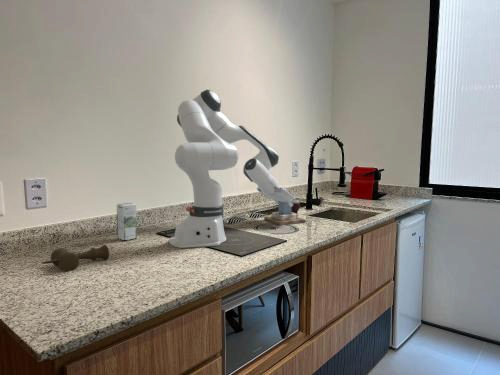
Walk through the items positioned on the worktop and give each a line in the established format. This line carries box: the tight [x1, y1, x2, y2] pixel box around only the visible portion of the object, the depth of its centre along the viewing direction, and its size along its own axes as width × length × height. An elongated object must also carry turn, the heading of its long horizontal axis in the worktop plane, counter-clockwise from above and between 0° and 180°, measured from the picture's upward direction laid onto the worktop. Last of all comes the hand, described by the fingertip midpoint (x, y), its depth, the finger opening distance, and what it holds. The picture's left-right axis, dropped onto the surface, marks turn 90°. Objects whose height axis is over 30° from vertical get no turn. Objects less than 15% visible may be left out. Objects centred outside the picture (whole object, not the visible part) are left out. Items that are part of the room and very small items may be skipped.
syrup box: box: [116, 202, 138, 241], centre depth 152 cm, size 6×6×14 cm
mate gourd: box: [282, 186, 301, 214], centre depth 207 cm, size 8×8×15 cm
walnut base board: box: [263, 211, 307, 226], centre depth 189 cm, size 15×15×4 cm
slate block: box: [278, 201, 291, 215], centre depth 188 cm, size 4×4×10 cm
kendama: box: [41, 244, 110, 273], centre depth 120 cm, size 6×10×20 cm
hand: (285, 204), depth 188 cm, fingers open, 8 cm apart
